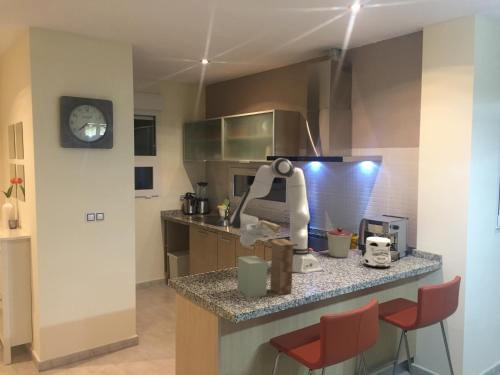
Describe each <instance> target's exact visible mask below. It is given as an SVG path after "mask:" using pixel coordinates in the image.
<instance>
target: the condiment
mask: <svg viewBox="0 0 500 375" xmlns="http://www.w3.org/2000/svg"><path fill="white" fill-rule="evenodd" d="M351 234H352V236H351V242H350V248H349V250H352V249H357V248H359V247H358V245H359V244H358V243H359V237H358V233H354V232H353V233H351ZM357 250H358V249H357Z"/></svg>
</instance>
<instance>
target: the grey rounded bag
mask: <svg viewBox="0 0 500 375" xmlns="http://www.w3.org/2000/svg"><path fill="white" fill-rule="evenodd" d="M398 253H399V256H400V257H401V255H400V253H401V251H400V252H396V251H390V255H391V260H395V261H397V260H398V259H399V258H398ZM396 259H397V260H396Z"/></svg>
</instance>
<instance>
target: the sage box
mask: <svg viewBox="0 0 500 375" xmlns="http://www.w3.org/2000/svg"><path fill="white" fill-rule="evenodd" d="M236 284H237V285H236V287H237V288H236V289H237V290H238V291H239V292H241V294H243V295H245V297H248V298H255V297H263V296H267V288H268V287H267V284H268V261H266V260H265V259H263V258H261V257H258V256H257V255H249V256H248V255H247V256H238V257H237V283H236Z"/></svg>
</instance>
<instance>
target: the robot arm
mask: <svg viewBox="0 0 500 375" xmlns="http://www.w3.org/2000/svg"><path fill="white" fill-rule="evenodd" d="M275 177H284V178H285V179H286V181H287V182H286V183H287V184H286V185H287V191H288V192H287V194H288V202H289V203H288V204H289V209H290V212H289V241H291V242H293V243H296V244H297V246H293V267H292V273H300V274H301V273H302V274H309V273H315V272H319V271H322V269H323V268H322V267H321V266H319V262H318V258H316V257H315V256H313V255H312V254H311V253H310V252H313V251H314V250H313V248H311V247H310V248H309V247H308V242H309V241H308V238H309V236H308V234H309V233H308V224H309V223H310V220H311V218H310V217H311V216H310V210H309V203H308V198H307V197H308V196H307V188H306V179H305V175H304V170H302V169H301V168H300V167H295V166H294V165H293V164H292V162H291V161H290V160H289V159H288V158H283V157H279V158H276V159H275V160H273V161H272V162H271V163H270V164H269V165H266V164H264V165H260V167H259V168H258V170H257V172H256V174H255V176H254V180H253V183H252V184H251V185H250V186H249V187H247V188H246V189H245V190H244V192H243V193H242V195H241V198H240V199H239V202H238V203H237V206H236V207H235V210H234V211H233V214H232V215H231V217H230V219H229V220H230V221H229V224H230V226H231V227H232V228H233V229H235V230H240V231H239V233H240V234H241V236H240V237H239V242H240V243H241V244H242V245H243V246H246V247H249V246H251V245H253V244H254V243H256V242H257V241H258V240H262V239H263V238H264V239H265V238H269V237H270V235H271V234H273V233H274V232H272V231H269V230H266V229H264V228H261V226H262V223H259V221H261V220H260V219H259V217H257V216H254V215H250V214H246V213H244V211H245V209H246V206H247V204H248V203H249V201H251V200H252V199H253V200H254V199H258V198H264V197H266V196H267V195H269V193H270V191H271V189H272V185H273V182H274V179H275Z"/></svg>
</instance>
